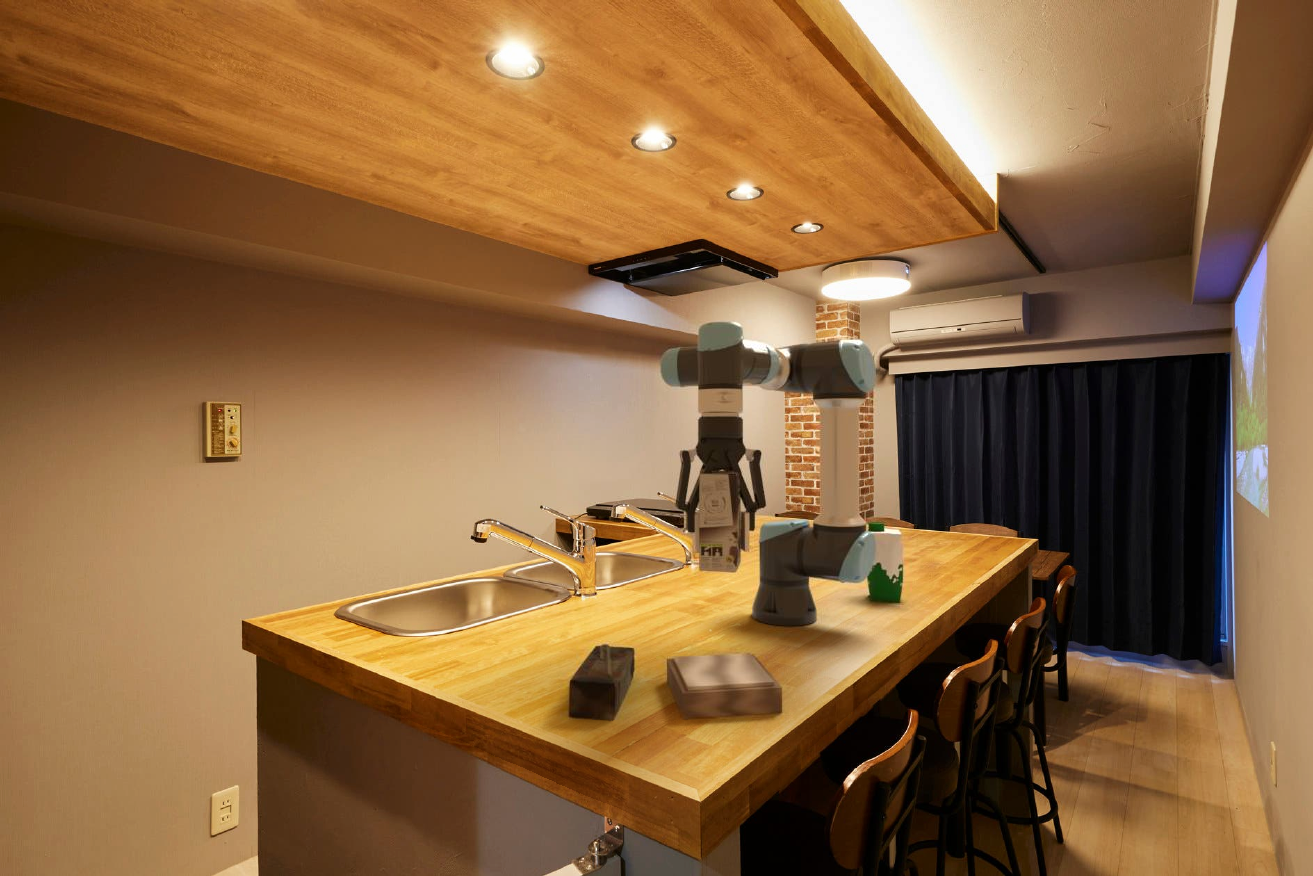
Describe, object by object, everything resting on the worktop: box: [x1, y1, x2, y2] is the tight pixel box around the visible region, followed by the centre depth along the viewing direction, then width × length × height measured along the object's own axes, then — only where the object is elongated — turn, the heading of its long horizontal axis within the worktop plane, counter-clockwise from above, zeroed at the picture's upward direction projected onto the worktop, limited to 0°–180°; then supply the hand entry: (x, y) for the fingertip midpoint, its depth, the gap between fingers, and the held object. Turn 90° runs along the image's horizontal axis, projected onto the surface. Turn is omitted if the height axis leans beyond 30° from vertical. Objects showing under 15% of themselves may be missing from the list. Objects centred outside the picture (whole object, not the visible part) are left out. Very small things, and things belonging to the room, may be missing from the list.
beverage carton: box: [568, 643, 636, 721], centre depth 114 cm, size 8×19×6 cm, turn 172°
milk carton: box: [866, 521, 904, 603], centre depth 179 cm, size 9×9×20 cm
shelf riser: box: [666, 652, 783, 720], centre depth 114 cm, size 16×16×5 cm
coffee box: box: [698, 470, 742, 574], centre depth 114 cm, size 9×6×16 cm
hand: (720, 550), depth 114 cm, fingers closed on coffee box, 8 cm apart
